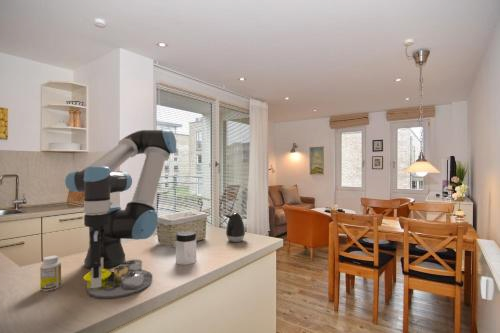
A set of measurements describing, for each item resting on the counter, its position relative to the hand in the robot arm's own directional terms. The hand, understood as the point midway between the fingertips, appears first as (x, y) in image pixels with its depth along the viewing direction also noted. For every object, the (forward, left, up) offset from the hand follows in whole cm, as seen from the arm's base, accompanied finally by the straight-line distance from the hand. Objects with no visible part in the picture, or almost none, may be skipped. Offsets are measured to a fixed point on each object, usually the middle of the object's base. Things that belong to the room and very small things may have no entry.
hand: (97, 281), depth 90 cm
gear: (0, 0, -1) cm, 1 cm away
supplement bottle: (-15, -5, -3) cm, 16 cm away
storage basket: (-7, +58, -3) cm, 58 cm away
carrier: (+5, +5, -2) cm, 7 cm away
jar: (+13, +32, -3) cm, 35 cm away
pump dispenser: (+20, +68, -3) cm, 71 cm away
